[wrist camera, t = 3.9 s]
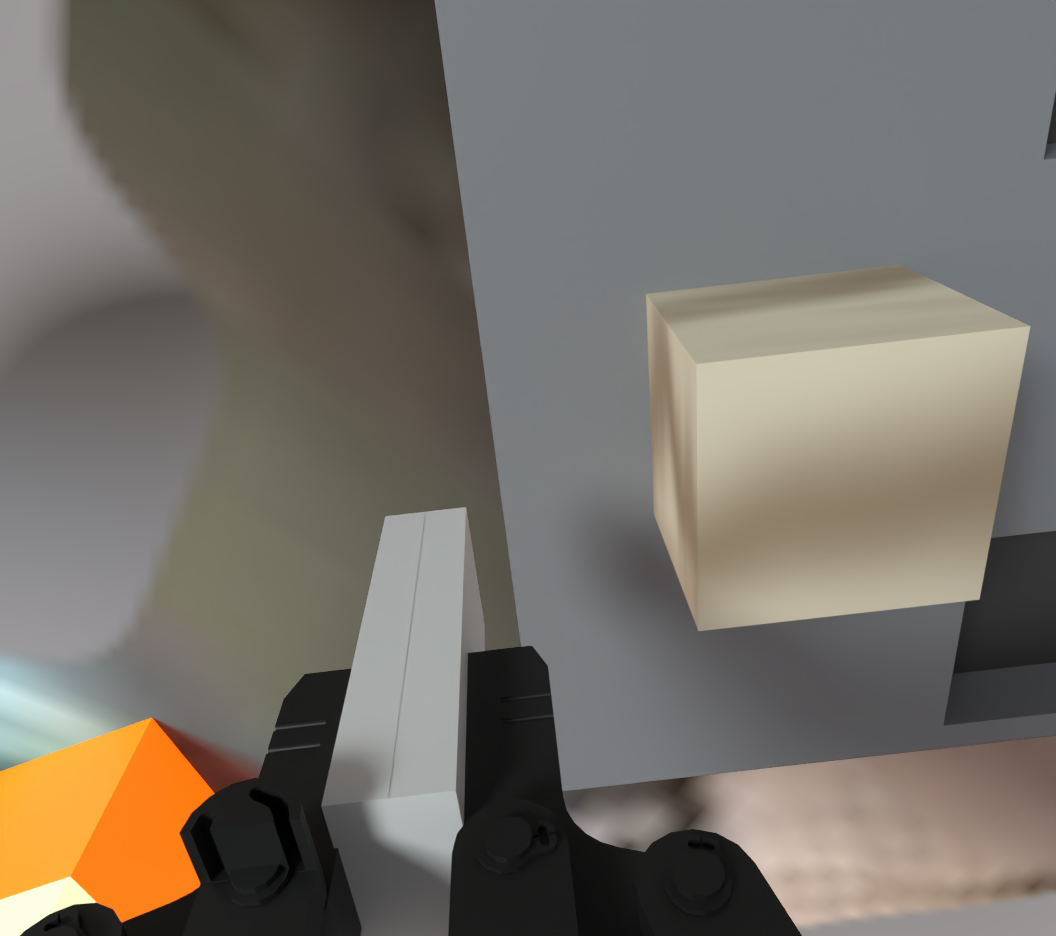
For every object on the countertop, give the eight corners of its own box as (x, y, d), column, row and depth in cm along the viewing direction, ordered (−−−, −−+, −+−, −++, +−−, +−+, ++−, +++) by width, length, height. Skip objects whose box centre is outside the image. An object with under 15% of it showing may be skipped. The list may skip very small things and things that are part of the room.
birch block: (646, 294, 19) (696, 363, 14) (900, 264, 19) (1030, 325, 14) (653, 514, 21) (698, 631, 17) (875, 488, 21) (979, 599, 17)
